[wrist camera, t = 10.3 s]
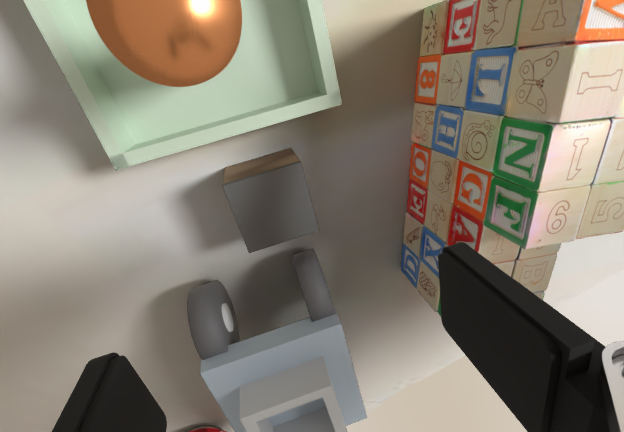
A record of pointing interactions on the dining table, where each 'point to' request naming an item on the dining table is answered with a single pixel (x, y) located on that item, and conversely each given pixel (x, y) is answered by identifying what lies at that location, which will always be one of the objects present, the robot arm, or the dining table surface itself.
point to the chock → (270, 199)
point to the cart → (278, 361)
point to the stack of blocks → (515, 135)
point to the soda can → (206, 429)
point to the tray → (203, 97)
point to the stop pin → (170, 37)
